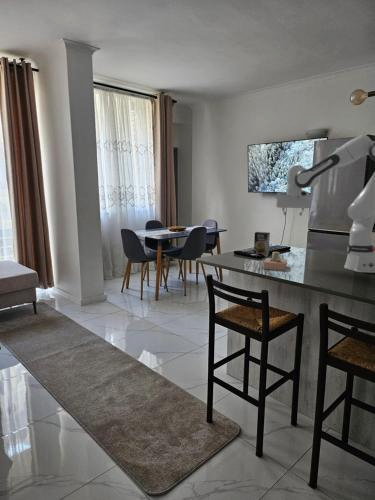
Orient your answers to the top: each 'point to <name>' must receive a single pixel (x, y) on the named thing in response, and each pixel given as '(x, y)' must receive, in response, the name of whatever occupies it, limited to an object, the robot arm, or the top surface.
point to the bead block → (275, 264)
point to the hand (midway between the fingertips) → (292, 215)
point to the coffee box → (261, 243)
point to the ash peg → (275, 256)
